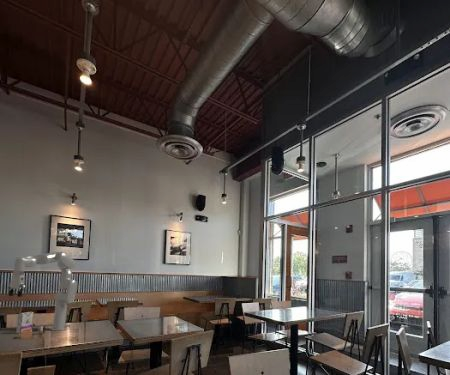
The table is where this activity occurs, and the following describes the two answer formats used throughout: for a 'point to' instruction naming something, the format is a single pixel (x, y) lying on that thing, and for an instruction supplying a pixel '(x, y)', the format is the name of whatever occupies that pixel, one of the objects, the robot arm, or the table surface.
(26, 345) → the table surface
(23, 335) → the collar
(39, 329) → the post board
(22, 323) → the candy bar box
